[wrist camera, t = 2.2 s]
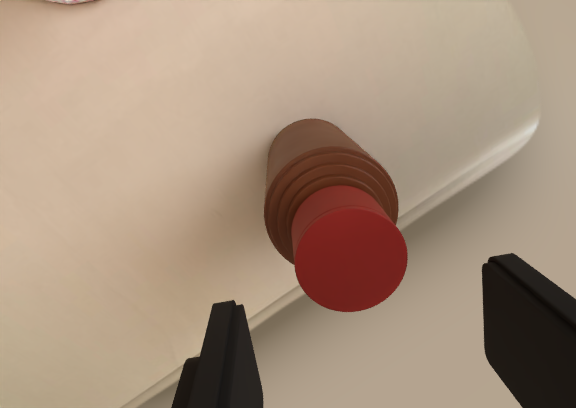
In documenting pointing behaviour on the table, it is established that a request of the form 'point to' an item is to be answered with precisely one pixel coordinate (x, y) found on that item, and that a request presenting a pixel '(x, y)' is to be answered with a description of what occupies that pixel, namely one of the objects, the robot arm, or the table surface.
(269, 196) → the bottle
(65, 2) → the teacup
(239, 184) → the table surface
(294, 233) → the cap
